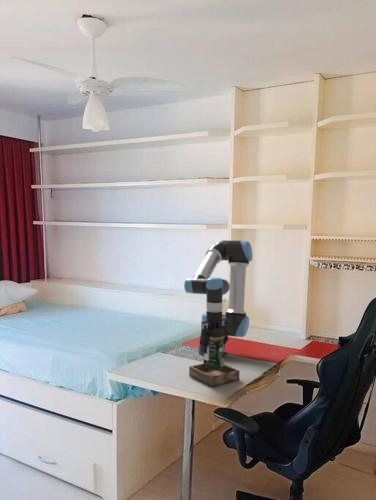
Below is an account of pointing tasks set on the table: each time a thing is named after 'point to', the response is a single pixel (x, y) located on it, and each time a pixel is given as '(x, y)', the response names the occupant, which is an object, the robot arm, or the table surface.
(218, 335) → the coffee jar
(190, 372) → the walnut tray
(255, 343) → the table surface
